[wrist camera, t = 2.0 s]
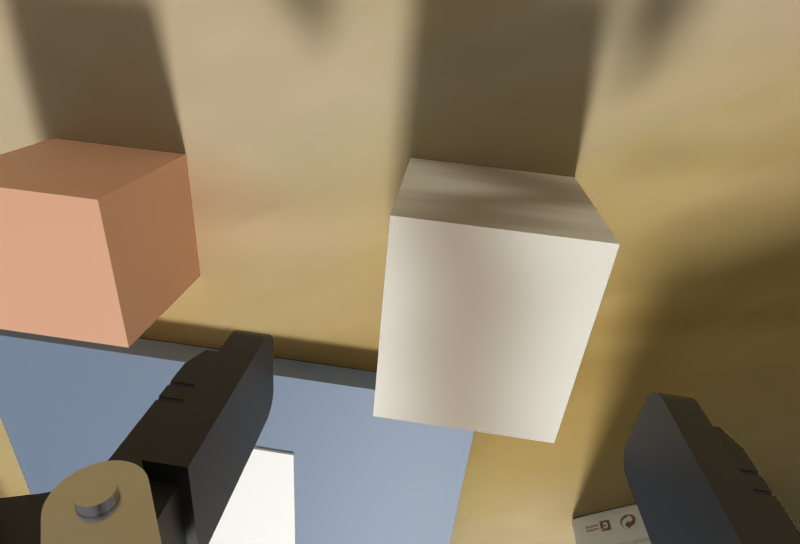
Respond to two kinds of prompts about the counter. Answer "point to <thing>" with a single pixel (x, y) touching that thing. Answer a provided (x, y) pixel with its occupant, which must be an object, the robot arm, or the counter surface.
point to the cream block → (488, 298)
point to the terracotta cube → (93, 239)
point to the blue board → (272, 455)
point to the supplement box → (611, 527)
